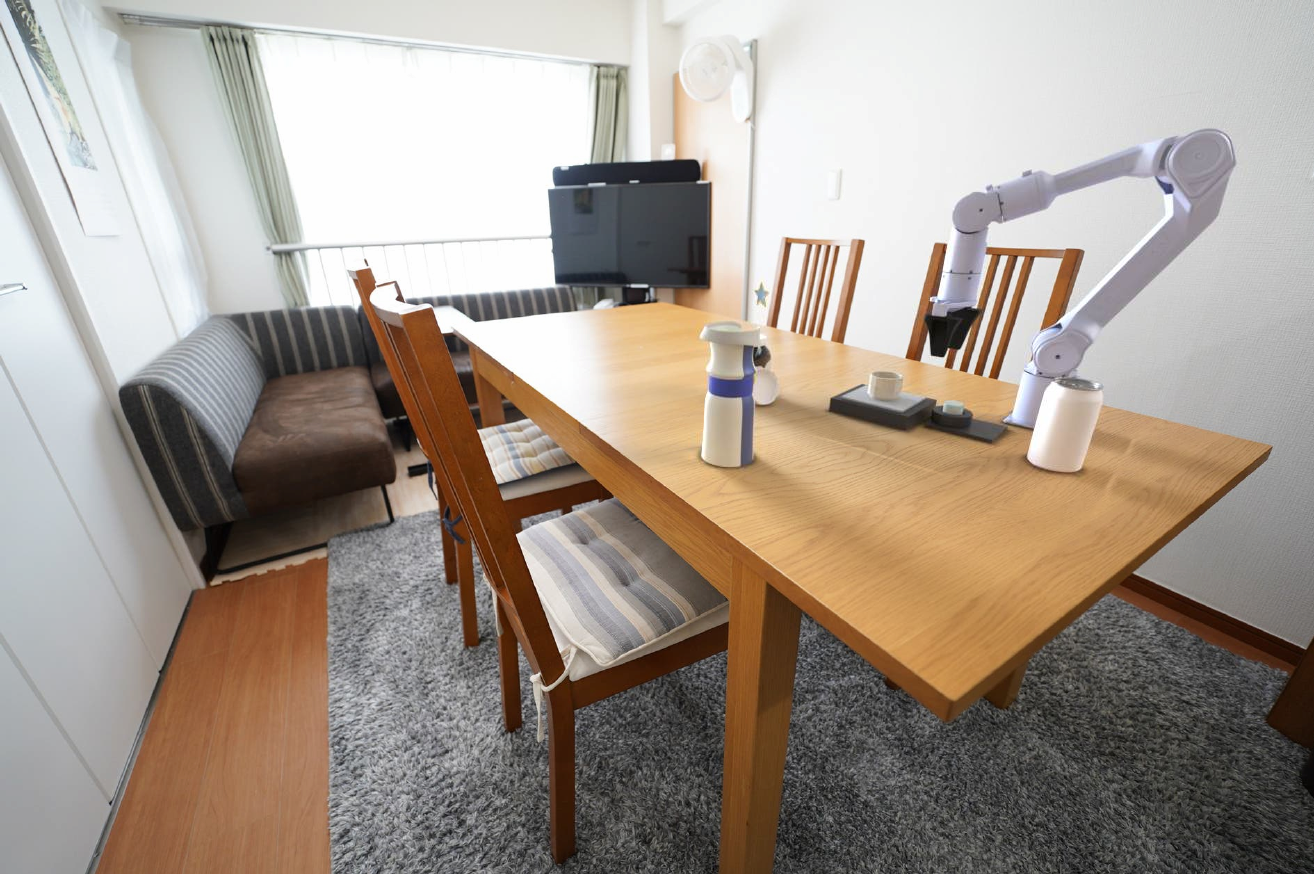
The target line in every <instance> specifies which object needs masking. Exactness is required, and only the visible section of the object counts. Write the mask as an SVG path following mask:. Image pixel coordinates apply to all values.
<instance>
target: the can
mask: <svg viewBox="0 0 1314 874" xmlns="http://www.w3.org/2000/svg"><path fill="white" fill-rule="evenodd" d="M1103 389H1104V385H1103V384H1101V383H1099V382H1096V381H1093V380H1092V381H1089V380H1084V379H1077V378H1054V379H1052V383H1051V384H1050V386H1049V387H1048V388H1047V389H1046V390H1045V393H1044V396H1043V400H1042V403H1041V407H1040V410H1039V414H1038V418H1037V421H1036V425H1035V428H1034V429H1033V433H1032V436H1031V439H1030V444H1029V448H1028V451H1027V454H1026V458H1027V460H1028V461H1029V463H1031V464H1032V465H1033V466H1035V467H1037V468H1040V469H1042V470H1046V471H1049V472H1053V473H1054V472H1055V473H1060V474H1061V473H1062V474H1073V473H1077V472H1078V471H1080V470H1082V467H1083V465H1084V463H1085V459H1086V456H1087V453H1088V450H1089V447H1090V443H1091V440H1092V437H1093V436H1094V435H1093V434H1094V432H1095V428H1096V425H1097V422H1098V419H1099V416H1100V413H1101V409H1102V406H1103V403H1104V393H1103Z"/></svg>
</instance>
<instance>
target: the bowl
mask: <svg viewBox="0 0 1314 874" xmlns="http://www.w3.org/2000/svg"><path fill="white" fill-rule="evenodd" d="M903 383H904V375H903V374H902V373H899V372H896V371H890V370H875V371H871V372H870V373H869V380H868V385H869V386H868V394H869V396H870V397H871V398H873V399H877V400H882V401H893V400H896V399H897V398H898V397H900V394H901V392H902V388H903Z"/></svg>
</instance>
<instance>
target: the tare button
mask: <svg viewBox="0 0 1314 874" xmlns="http://www.w3.org/2000/svg"><path fill="white" fill-rule="evenodd" d="M943 405H944V406H943V411H942V412H944V413H947V414H951V415H962V414H963V409H964V408H965V403H964V402H961V401H958V400H952V399H951V400H949V399H948V400H945V401H943Z"/></svg>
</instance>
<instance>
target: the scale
mask: <svg viewBox="0 0 1314 874" xmlns="http://www.w3.org/2000/svg"><path fill="white" fill-rule="evenodd" d="M868 386H869V384H865V383H861V384H858V385H856V386H854V387H852V388H849V389H848V390H845V391H842V392H841V393H838V394H836V395H833V396H832V397H829V398H830V400H829V407H828V412H830V413H835V414H838V415H843V416H846V417H851V418H855V419H857V420H863V421H867V422H870V423H874V424H877V425H882V426H885V427H889V428H892V429H893V428H894V429H897V430H901V431H905V432H907V431H909V430H910V429H912V428H913V427H915V426H917V425H918V424H920V423H921V422H923V421H925V420H926V419H927V418H930V417H931V414H932V409H933V408H934V407H936V406H937V403H938V400H937V399H935V398H930V397H927V396H922V395H918V394H913V393H909V392H904V391H901V394H900V397H898V398H897V399H896V400H893V401H882V400H877V399H873V398H871V397H870V396H869V394H868Z"/></svg>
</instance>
